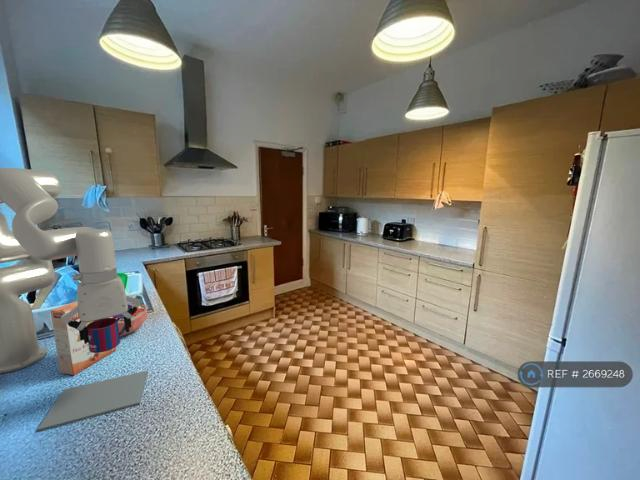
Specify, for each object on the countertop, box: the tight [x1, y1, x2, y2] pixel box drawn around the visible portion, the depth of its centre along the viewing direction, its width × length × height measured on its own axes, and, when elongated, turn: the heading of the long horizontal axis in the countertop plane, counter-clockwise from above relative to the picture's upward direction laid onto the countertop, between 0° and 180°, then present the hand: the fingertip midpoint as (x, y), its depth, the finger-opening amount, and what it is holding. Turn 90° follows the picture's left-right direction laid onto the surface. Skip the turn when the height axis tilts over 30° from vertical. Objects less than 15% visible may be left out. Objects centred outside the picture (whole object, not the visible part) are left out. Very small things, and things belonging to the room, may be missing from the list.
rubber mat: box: [37, 370, 149, 433], centre depth 72 cm, size 20×14×1 cm
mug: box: [86, 316, 125, 353], centre depth 74 cm, size 7×10×7 cm
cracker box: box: [50, 300, 117, 376], centre depth 86 cm, size 14×6×21 cm, turn 168°
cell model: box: [113, 302, 149, 337], centre depth 105 cm, size 17×20×11 cm
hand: (107, 335), depth 74 cm, fingers closed on mug, 8 cm apart
